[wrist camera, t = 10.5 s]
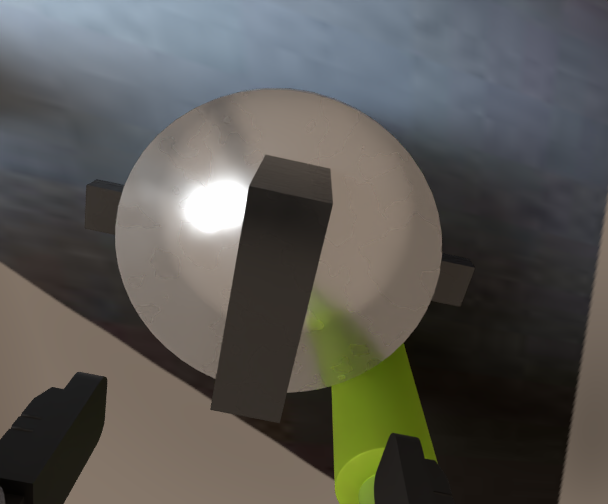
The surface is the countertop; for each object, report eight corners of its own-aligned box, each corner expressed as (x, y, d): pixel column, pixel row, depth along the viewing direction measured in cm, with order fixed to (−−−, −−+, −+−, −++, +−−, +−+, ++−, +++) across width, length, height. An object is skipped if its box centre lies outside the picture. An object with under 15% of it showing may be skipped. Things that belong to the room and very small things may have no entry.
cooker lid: (135, 51, 22) (63, 52, 16) (483, 130, 22) (543, 160, 16) (113, 351, 28) (56, 434, 22) (388, 404, 28) (406, 499, 22)
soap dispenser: (330, 308, 37) (339, 560, 19) (415, 331, 38) (505, 597, 20) (309, 369, 40) (299, 648, 21) (390, 390, 40) (448, 679, 22)
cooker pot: (153, 61, 31) (82, 66, 22) (465, 132, 32) (523, 165, 23) (136, 258, 36) (73, 329, 27) (403, 313, 37) (431, 400, 28)
